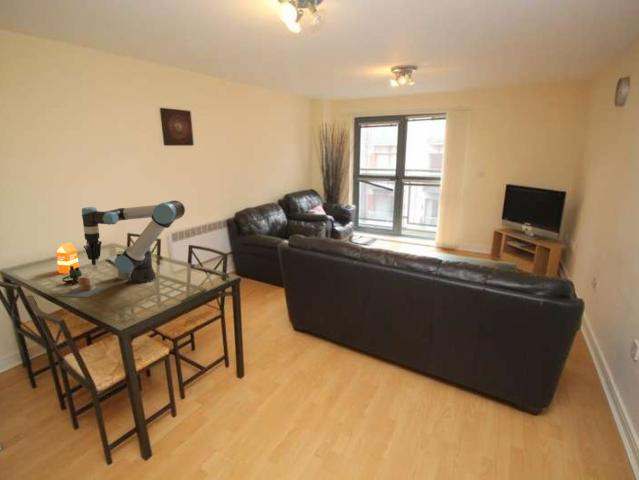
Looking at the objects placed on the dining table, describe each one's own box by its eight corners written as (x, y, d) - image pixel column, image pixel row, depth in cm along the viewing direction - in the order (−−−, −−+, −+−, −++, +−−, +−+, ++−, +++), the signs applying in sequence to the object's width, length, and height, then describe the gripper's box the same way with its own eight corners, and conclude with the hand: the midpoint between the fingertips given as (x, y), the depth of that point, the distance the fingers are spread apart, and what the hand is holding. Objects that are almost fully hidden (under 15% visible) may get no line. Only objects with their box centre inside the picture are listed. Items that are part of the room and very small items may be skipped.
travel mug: (125, 280, 219) (123, 254, 215) (115, 279, 220) (112, 253, 216) (134, 276, 227) (132, 251, 222) (124, 275, 228) (122, 250, 224)
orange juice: (79, 269, 235) (75, 242, 230) (69, 273, 227) (65, 245, 222) (69, 268, 236) (65, 241, 231) (58, 272, 227) (54, 244, 222)
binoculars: (57, 270, 204) (72, 264, 213) (61, 286, 208) (76, 279, 217) (68, 272, 202) (83, 266, 211) (72, 288, 205) (86, 281, 214)
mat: (104, 288, 204) (104, 287, 204) (88, 298, 191) (88, 297, 190) (78, 287, 204) (78, 286, 204) (61, 296, 191) (60, 295, 191)
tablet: (127, 256, 271) (127, 253, 271) (142, 263, 255) (141, 260, 255) (105, 260, 259) (105, 257, 258) (119, 267, 243) (118, 264, 243)
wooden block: (95, 288, 203) (93, 275, 201) (90, 290, 199) (89, 278, 197) (84, 287, 203) (82, 275, 201) (79, 290, 199) (77, 277, 197)
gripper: (92, 230, 208) (96, 265, 214) (77, 234, 196) (82, 272, 201) (104, 230, 208) (108, 266, 214) (90, 235, 196) (94, 272, 201)
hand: (95, 269), depth 208 cm, fingers closed
